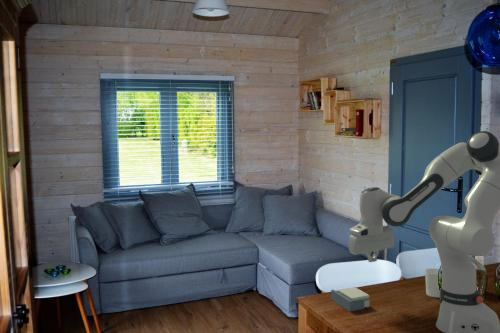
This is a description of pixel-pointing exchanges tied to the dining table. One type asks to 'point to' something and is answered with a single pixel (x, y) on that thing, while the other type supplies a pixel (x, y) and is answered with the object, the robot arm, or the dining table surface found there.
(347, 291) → the cream rectangular block
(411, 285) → the dining table surface
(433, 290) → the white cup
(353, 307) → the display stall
